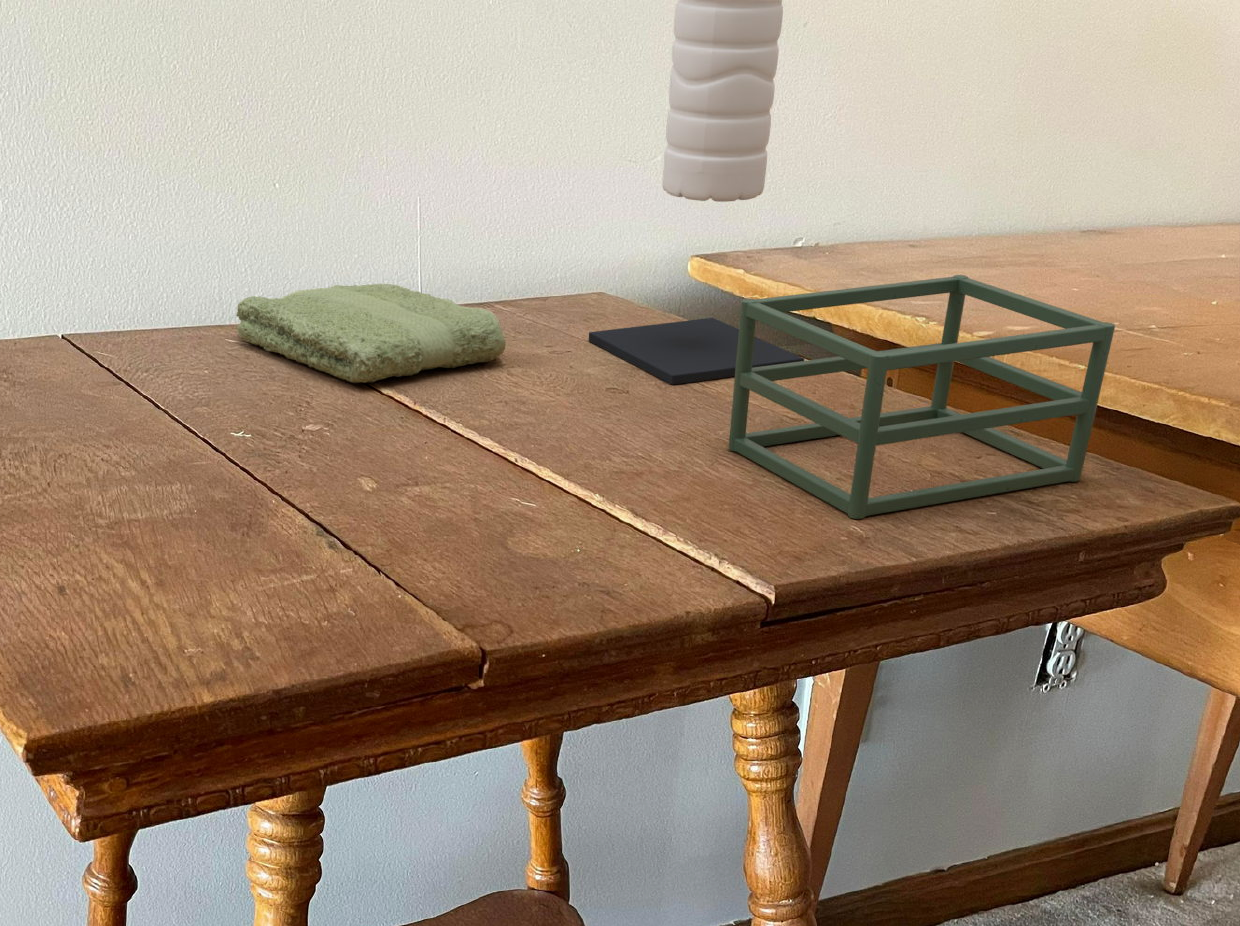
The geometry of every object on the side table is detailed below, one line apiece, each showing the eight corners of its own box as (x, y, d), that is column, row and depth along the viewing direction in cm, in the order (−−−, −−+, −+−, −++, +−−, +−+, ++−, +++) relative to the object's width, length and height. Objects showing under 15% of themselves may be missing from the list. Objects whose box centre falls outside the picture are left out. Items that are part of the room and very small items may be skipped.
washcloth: (382, 311, 114) (380, 264, 112) (518, 364, 102) (519, 312, 101) (223, 337, 108) (218, 288, 106) (349, 396, 97) (345, 342, 95)
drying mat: (803, 367, 102) (804, 358, 101) (671, 385, 98) (672, 375, 98) (712, 326, 110) (712, 317, 110) (588, 341, 107) (588, 331, 107)
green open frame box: (1083, 480, 83) (1119, 325, 79) (854, 520, 79) (877, 357, 74) (938, 416, 93) (962, 273, 88) (725, 448, 88) (738, 299, 83)
